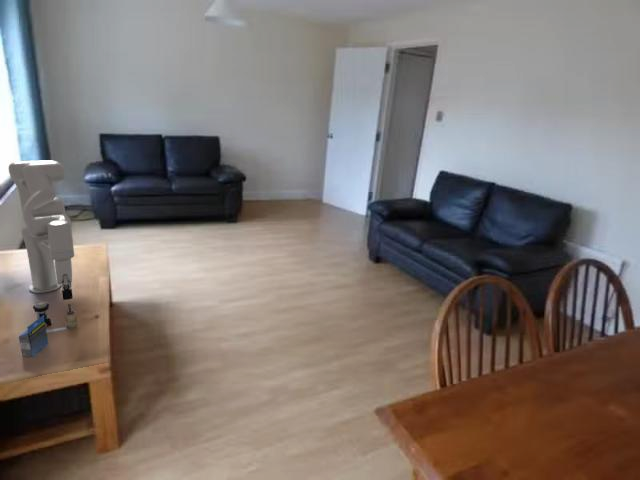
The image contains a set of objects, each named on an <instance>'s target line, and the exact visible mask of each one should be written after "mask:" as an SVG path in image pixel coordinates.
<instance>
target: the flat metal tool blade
mask: <svg viewBox="0 0 640 480" xmlns="http://www.w3.org/2000/svg"><path fill="white" fill-rule="evenodd" d="M78 328H79V326H78V327H77V328H76V329H78ZM66 330H67V331H68V329H67V328H66V326H64V327H57V328H53V329H46V333H47V334H51V333H56V332H61V331H66Z"/></svg>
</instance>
